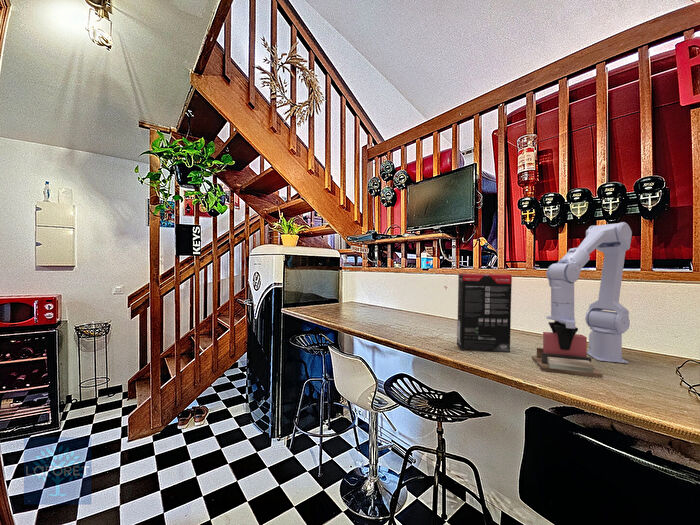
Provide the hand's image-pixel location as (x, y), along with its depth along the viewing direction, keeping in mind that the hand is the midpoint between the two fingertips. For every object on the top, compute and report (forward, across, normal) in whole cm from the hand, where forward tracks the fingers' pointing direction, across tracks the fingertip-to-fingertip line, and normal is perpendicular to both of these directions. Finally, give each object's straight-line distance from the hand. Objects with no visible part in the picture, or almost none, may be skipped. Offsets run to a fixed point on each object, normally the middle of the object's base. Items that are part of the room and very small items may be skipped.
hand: (562, 347), depth 89 cm
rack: (+5, +2, 0) cm, 6 cm away
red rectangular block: (+4, 0, 0) cm, 4 cm away
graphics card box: (+6, -10, -21) cm, 24 cm away
